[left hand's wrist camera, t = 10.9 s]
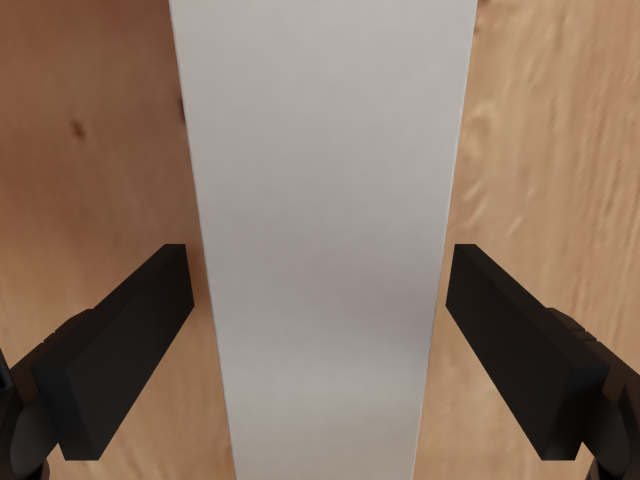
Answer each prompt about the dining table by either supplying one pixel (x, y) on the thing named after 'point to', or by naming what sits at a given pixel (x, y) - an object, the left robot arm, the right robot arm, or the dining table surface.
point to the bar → (323, 218)
